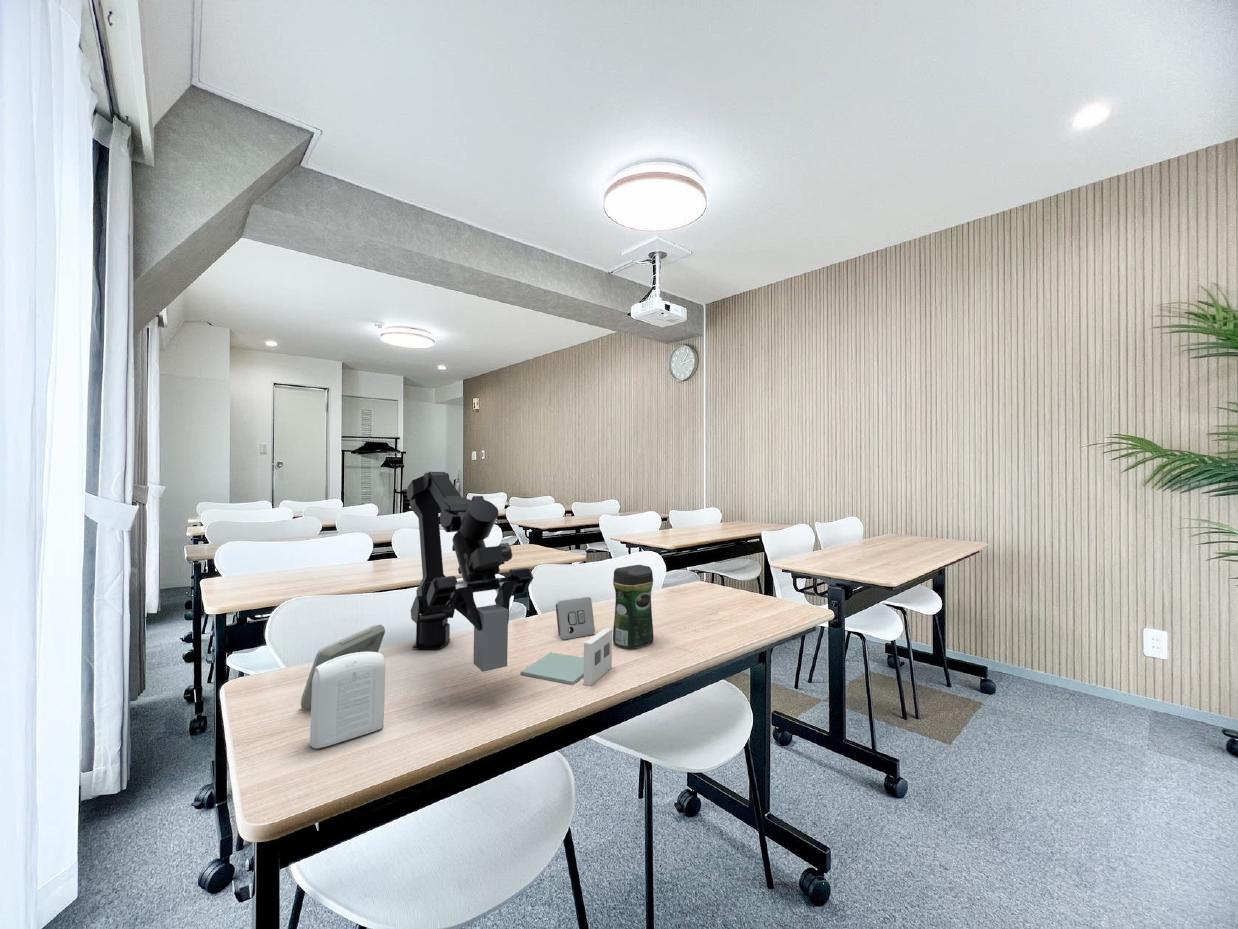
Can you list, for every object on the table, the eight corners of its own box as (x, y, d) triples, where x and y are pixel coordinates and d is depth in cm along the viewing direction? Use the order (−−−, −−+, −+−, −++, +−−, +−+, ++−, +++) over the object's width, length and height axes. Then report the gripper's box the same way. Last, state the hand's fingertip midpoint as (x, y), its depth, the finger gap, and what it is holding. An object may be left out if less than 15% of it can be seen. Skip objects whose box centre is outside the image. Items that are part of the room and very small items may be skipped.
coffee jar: (636, 635, 126) (637, 561, 126) (658, 643, 120) (659, 566, 120) (606, 643, 120) (607, 565, 120) (628, 652, 114) (629, 570, 114)
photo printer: (378, 719, 82) (380, 643, 82) (388, 729, 79) (389, 650, 79) (306, 742, 75) (308, 659, 75) (313, 754, 72) (315, 667, 72)
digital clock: (366, 673, 101) (367, 620, 101) (400, 681, 97) (401, 626, 97) (286, 708, 86) (287, 645, 86) (322, 718, 82) (323, 653, 82)
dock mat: (520, 674, 101) (520, 671, 101) (550, 655, 112) (550, 652, 112) (573, 685, 96) (573, 681, 96) (599, 663, 107) (599, 660, 107)
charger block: (473, 663, 90) (474, 607, 90) (497, 658, 92) (497, 604, 93) (482, 672, 86) (483, 613, 86) (507, 666, 89) (508, 609, 89)
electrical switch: (561, 641, 121) (560, 602, 122) (553, 637, 125) (552, 599, 126) (595, 635, 126) (594, 597, 127) (586, 631, 130) (585, 595, 131)
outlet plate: (582, 684, 96) (583, 642, 97) (604, 666, 106) (604, 628, 106) (591, 686, 96) (592, 644, 96) (612, 667, 105) (612, 629, 105)
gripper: (432, 532, 87) (452, 610, 78) (529, 526, 98) (556, 594, 89) (419, 570, 94) (436, 646, 84) (512, 560, 105) (535, 627, 96)
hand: (493, 627), depth 88 cm, fingers closed on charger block, 4 cm apart
